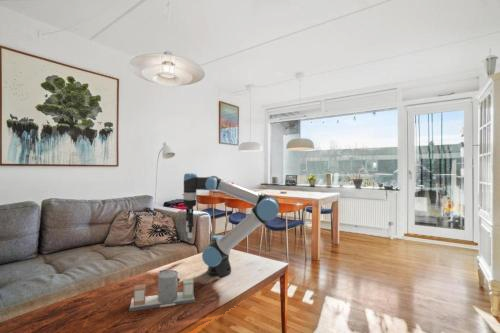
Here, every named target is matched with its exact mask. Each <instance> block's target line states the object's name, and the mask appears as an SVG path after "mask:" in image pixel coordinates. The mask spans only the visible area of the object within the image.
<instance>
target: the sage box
mask: <svg viewBox="0 0 500 333" xmlns="http://www.w3.org/2000/svg"><path fill="white" fill-rule="evenodd" d="M194 286H195V285H194V278H188V279H187V278H186V279H183V280H182V292H183V299H188V298H193V294H194Z"/></svg>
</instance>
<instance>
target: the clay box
mask: <svg viewBox="0 0 500 333" xmlns="http://www.w3.org/2000/svg"><path fill="white" fill-rule="evenodd" d="M146 288H147V287H146V283H144V284H135V285H134V287H133V298H134V306H136V305H143V304H145V299H146V292H147V291H146V290H147V289H146Z"/></svg>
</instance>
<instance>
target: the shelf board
mask: <svg viewBox="0 0 500 333" xmlns="http://www.w3.org/2000/svg"><path fill="white" fill-rule="evenodd" d="M189 303H190V304H191V303H196V299H195V295H194V293H193V298H188V299H183V291H180V292H179V291H177V299H176V300H175V301H173V302H168V303H161V302H159V301H158V294H154V295H149V296H146V299H145V304H143V305H136V306H134V297H132V298H131V301H130V306H129V307H128V312H133V311H134V312H135V311H142V310H147V309H148V310H149V309H157V308H163V307H172V306H176V305H184V304H189Z"/></svg>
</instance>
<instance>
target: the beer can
mask: <svg viewBox="0 0 500 333" xmlns="http://www.w3.org/2000/svg"><path fill="white" fill-rule="evenodd" d="M178 274H179V272H178V271H177V270H174V269H173V270H172V269H167V270H163V271H161V272H158V275H157V278H158V280H157V283H158V284H157V295H158V301H159V302H161V303H168V302H173V301H175V300H176V299H177V293H178V282H179V281H178V278H179V277H178V276H179V275H178Z"/></svg>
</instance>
